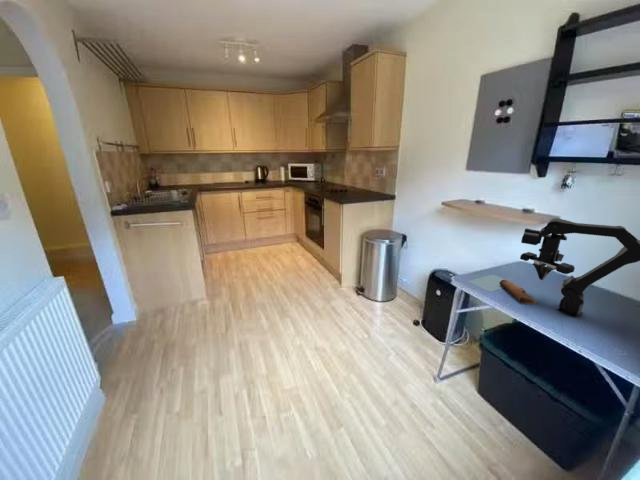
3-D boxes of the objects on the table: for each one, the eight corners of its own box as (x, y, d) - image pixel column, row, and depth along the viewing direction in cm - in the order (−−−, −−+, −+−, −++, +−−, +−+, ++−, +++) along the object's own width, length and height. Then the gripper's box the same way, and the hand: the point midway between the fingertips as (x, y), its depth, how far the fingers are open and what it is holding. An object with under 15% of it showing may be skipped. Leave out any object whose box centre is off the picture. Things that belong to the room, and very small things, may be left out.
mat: (515, 284, 145) (515, 283, 144) (489, 292, 137) (489, 292, 137) (492, 275, 156) (492, 274, 156) (467, 282, 149) (467, 281, 149)
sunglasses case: (538, 303, 126) (533, 292, 124) (523, 309, 127) (518, 298, 126) (515, 284, 143) (510, 274, 141) (502, 290, 144) (497, 280, 143)
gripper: (586, 251, 113) (576, 284, 118) (537, 238, 129) (530, 268, 134) (571, 255, 109) (561, 290, 114) (522, 242, 125) (515, 272, 130)
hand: (541, 279), depth 123 cm, fingers closed
